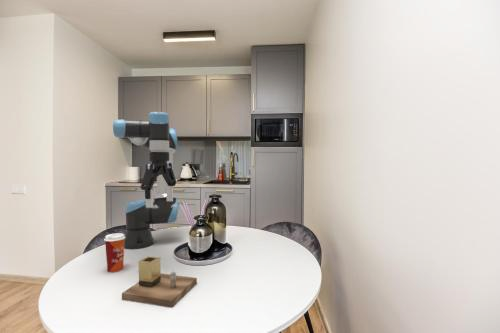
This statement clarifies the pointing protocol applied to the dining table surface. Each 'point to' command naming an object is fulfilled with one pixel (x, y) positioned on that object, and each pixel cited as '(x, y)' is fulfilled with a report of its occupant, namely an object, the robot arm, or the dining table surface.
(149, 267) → the sleeve
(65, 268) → the dining table surface
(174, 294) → the pin board
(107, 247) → the paper cup
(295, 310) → the dining table surface
